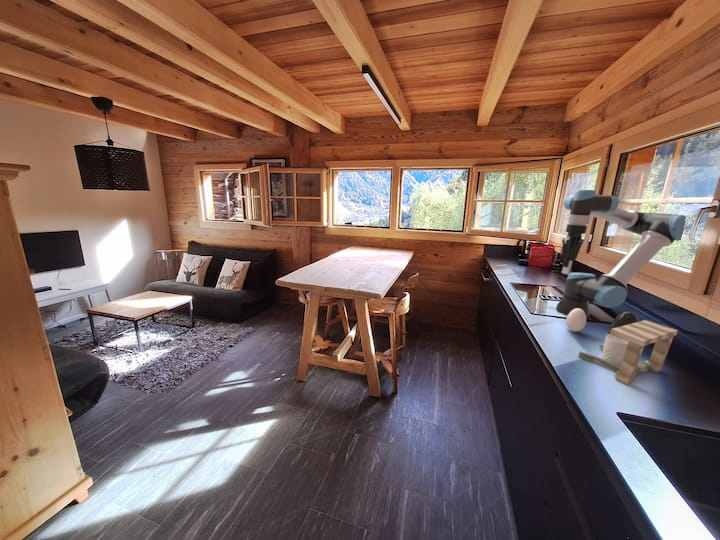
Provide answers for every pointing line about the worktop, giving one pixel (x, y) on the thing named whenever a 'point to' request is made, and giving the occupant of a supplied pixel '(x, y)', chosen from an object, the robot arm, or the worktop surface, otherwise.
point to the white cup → (614, 349)
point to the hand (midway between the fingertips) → (565, 273)
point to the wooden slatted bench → (637, 349)
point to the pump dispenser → (623, 320)
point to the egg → (576, 320)
